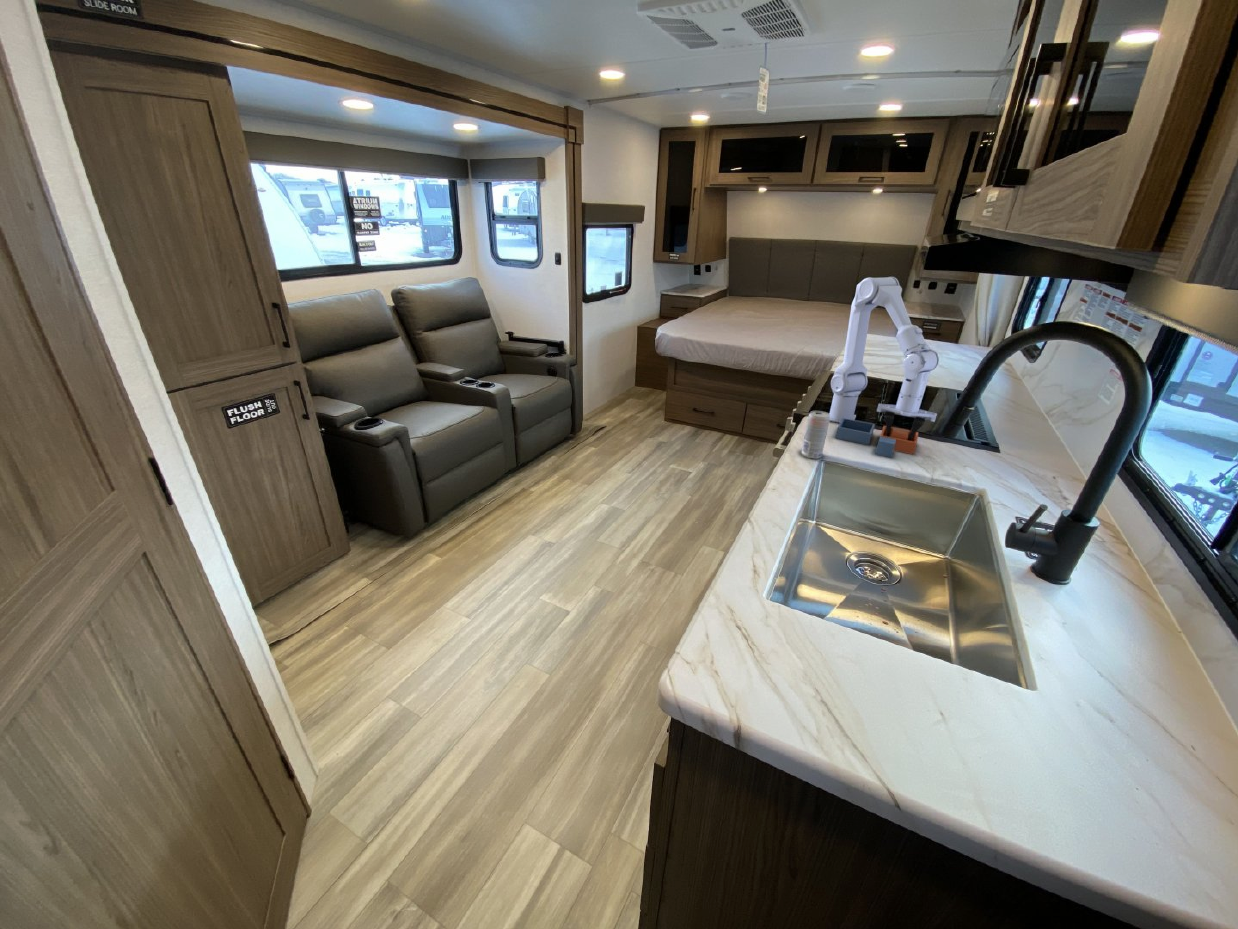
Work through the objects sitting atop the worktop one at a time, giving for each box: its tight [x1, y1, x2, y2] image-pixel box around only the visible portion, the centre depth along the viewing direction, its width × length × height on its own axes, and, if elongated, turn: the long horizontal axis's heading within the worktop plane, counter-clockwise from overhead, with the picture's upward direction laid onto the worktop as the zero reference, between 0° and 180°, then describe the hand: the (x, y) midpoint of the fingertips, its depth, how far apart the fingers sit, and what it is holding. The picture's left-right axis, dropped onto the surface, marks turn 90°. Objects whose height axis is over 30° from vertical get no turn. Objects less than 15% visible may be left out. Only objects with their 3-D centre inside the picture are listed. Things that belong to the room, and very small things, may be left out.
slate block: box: [874, 436, 896, 458], centre depth 137 cm, size 4×4×4 cm
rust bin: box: [879, 425, 919, 455], centre depth 142 cm, size 9×9×4 cm
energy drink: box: [800, 410, 831, 460], centre depth 133 cm, size 5×5×12 cm
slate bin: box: [834, 418, 876, 446], centre depth 147 cm, size 9×9×4 cm
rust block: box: [891, 427, 910, 440], centre depth 142 cm, size 4×4×4 cm
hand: (898, 439), depth 142 cm, fingers open, 5 cm apart
